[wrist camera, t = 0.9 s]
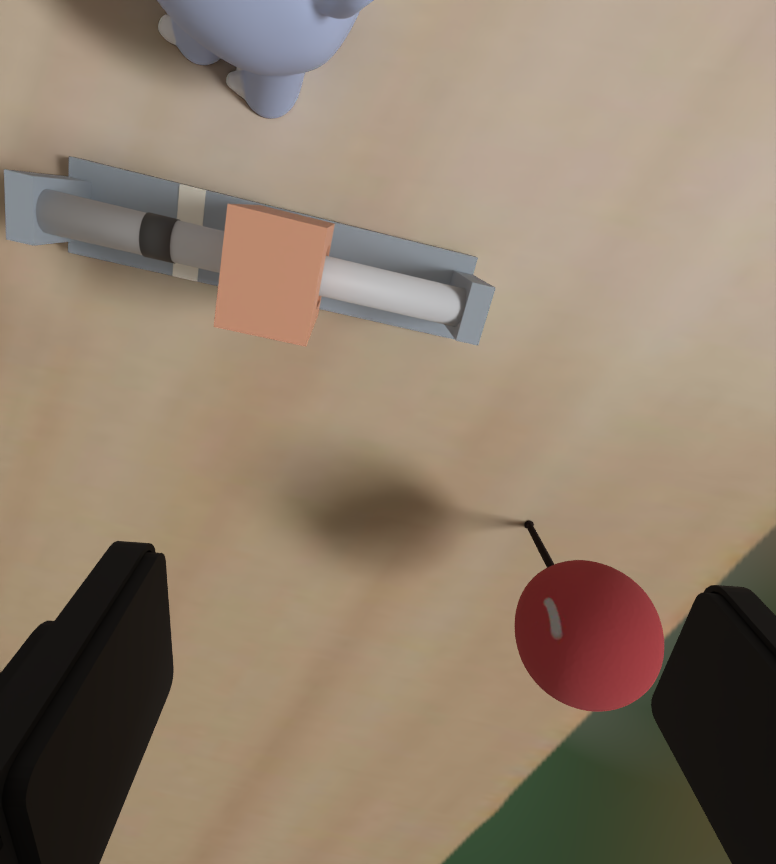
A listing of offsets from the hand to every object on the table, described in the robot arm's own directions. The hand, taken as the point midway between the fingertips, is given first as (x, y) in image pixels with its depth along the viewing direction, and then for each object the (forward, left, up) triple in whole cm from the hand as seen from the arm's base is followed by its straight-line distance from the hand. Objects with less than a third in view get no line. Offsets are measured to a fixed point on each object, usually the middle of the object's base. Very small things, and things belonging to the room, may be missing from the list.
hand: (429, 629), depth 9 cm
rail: (+3, +7, -26) cm, 27 cm away
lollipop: (-12, -14, -27) cm, 32 cm away
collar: (+3, +6, -23) cm, 24 cm away
